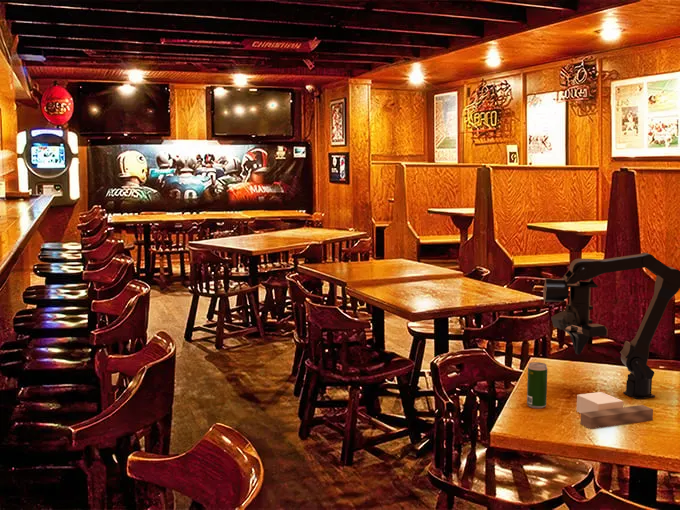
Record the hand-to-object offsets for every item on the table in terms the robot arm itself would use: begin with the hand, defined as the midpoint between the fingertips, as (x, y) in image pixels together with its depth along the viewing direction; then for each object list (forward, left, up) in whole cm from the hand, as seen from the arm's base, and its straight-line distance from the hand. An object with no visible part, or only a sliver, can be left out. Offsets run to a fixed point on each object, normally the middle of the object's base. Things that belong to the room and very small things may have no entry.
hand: (577, 354), depth 227 cm
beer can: (+18, +6, -12) cm, 23 cm away
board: (+6, +25, -12) cm, 28 cm away
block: (+6, +18, -12) cm, 23 cm away
